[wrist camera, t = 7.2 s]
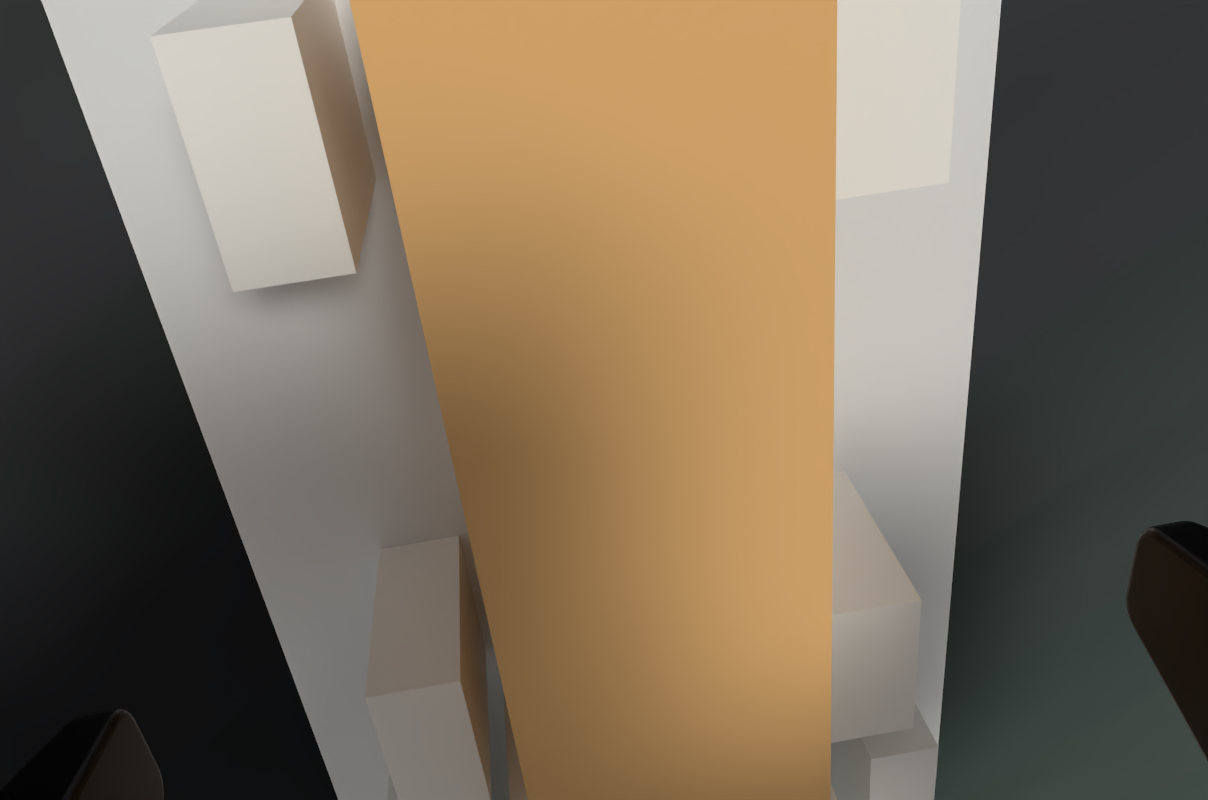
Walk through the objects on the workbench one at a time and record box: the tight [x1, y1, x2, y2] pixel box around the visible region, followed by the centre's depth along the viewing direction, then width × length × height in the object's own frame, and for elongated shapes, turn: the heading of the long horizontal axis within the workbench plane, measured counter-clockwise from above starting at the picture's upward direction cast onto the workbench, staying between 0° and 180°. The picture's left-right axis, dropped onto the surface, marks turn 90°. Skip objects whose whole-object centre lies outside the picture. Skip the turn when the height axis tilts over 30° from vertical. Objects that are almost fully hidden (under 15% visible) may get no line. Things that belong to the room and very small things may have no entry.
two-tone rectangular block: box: [349, 0, 837, 800], centre depth 13 cm, size 4×16×5 cm, turn 6°
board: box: [41, 0, 1001, 800], centre depth 14 cm, size 11×20×4 cm, turn 6°
